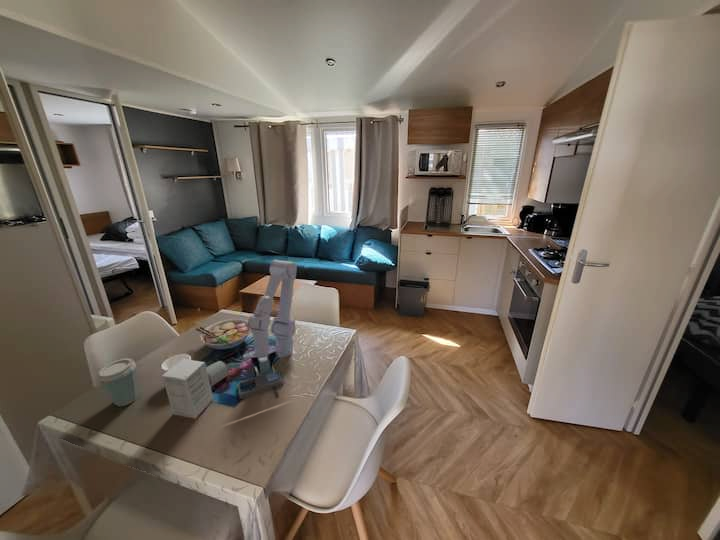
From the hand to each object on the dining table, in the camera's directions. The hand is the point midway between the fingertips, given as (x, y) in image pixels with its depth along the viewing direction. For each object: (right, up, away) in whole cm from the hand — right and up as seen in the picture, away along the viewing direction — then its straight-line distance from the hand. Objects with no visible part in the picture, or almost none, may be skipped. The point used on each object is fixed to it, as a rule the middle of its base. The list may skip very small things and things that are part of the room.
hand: (264, 369), depth 115 cm
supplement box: (-20, -8, -16) cm, 27 cm away
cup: (-32, -3, -4) cm, 33 cm away
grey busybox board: (+2, -5, -9) cm, 11 cm away
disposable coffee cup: (-46, -6, -14) cm, 49 cm away
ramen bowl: (-24, +5, +20) cm, 32 cm away
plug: (0, -1, 0) cm, 1 cm away
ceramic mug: (-20, -3, -4) cm, 20 cm away
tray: (0, -2, +1) cm, 2 cm away
